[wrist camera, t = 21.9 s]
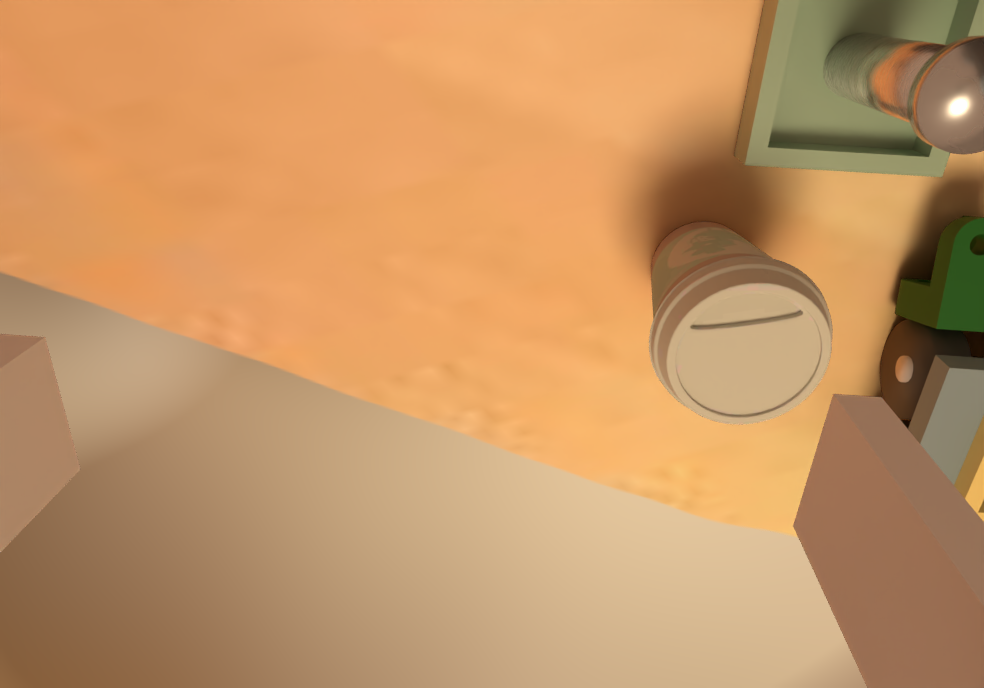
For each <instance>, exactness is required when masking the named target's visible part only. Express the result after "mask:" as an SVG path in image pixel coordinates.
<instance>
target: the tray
mask: <svg viewBox="0 0 984 688" xmlns="http://www.w3.org/2000/svg"><path fill="white" fill-rule="evenodd" d="M856 33H868V34H875V35H882V36H889V37H896V38H903V39H910V40H916V41H923V42H930V43H937V44H944V45H948V44H950V43H952V42H954V41H957V40H959V39H962V38H966V37H970V36H978V35H984V0H764V5H763V10H762V15H761V20H760V25H759V30H758V35H757V41H756V46H755V51H754V56H753V61H752V66H751V71H750V76H749V81H748V86H747V91H746V96H745V101H744V107H743V112H742V117H741V122H740V127H739V132H738V137H737V142H736V147H735V152H734V156H735V157H736V158H737V159H738V160H739V161H741V162H742V163H743V164H744V165H748V166H764V167H781V168H798V169H814V170H831V171H848V172H864V173H881V174H897V175H914V176H931V177H942V176H943V173H944V170H945V167H946V164H947V161H948V158H949V155H950V153H949V152H946V151H943V150H941V149H938V148H936V147H934V146H931V145H929V144H927V143H926V142H924V141H922V140H921V139H920V138H919V137H918V136H917V135H916V133H915V132H914V131H913V129H912V127H911V125H910V123H909V122H907V121H904V120H901V119H899V118H896V117H893V116H891V115H888V114H885V113H883V112H880V111H877V110H875V109H872V108H869V107H867V106H864V105H861V104H859V103H856V102H853V101H851V100H848V99H845V98H843V97H840V96H838V95H835V94H834V93H832V92H831V91H830V90H829V88H828V87H827V85H826V83H825V81H824V76H823V68H824V63H825V60H826V58H827V55H828V54H829V52H830V51H831V49H832V48H833V47H834V46H835V45H836V44H837V43H838V42H839V41H840V40H842V39H843V38H845V37H847V36H849V35H852V34H856Z"/></svg>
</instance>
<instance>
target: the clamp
mask: <svg viewBox="0 0 984 688" xmlns="http://www.w3.org/2000/svg"><path fill="white" fill-rule="evenodd" d="M895 314H896V315H899V316H902V317H904V318H907V319H910V320H913V321H916V322H918V323H921V324H924V325H927V326H930V327H932V328H935V329H946V330H960V331H975V332H984V217H971V216H963V217H962V218H959V219H956V220H954V221H953V222H951V223H950V224H949V225H948V226H947V227H946V228H945V229H944V230H943V232H942V234H941V236H940V239H939V243H938V248H937V253H936V258H935V263H934V268H933V273H932V278H931V280H925V279H910V278H903V279H901V283H900V288H899V293H898V298H897V304H896V309H895Z"/></svg>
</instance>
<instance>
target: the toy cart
mask: <svg viewBox="0 0 984 688" xmlns="http://www.w3.org/2000/svg"><path fill="white" fill-rule="evenodd" d="M880 381H881V389H882V394H883V397H884V400H885V402H886V403H887V404H888V406H889V407H890V408H891V409H892V410H893V412H894V413H895V414H896V415H897V417H898V418H900V419H906V420H901V421H902V423H903V424H904V425H905V426H906V428H907V429H908V430H909V431H910V432H911V434H912V435H913V436H914V437H915V439H916V440H917V441H918V442H919V443H920V445H921V446H922V447H923V448H924V450H925V451H926V452H927V453H928V454H929V456H930V457H931V458H932V459H933V461H934V462H935V463H936V464H937V465H938V467H939V468H940V469H941V470H942V472H943V473H944V474H945V475H946V476H947V478H948V479H949V480H950V481H951V483H952V484H953V485H954V486H955V487H956V489H957V490H958V491H959V492H960V494H961V495H962V496H963V497H964V498H965V500H966V501H967V502H968V503H969V505H970V506H971V507H972V508H973V509H974V511H975V512H976V513H977V514H978V516H979V517H980V518H981V519H982V520H983V522H984V358H975V357H972V356H971V351H970V347H969V344H968V341H967V339H966V337H965V335H964V333H963V332H962V331H960V330H946V329H935V328H932V327H930V326H927V325H924V324H921V323H918V322H916V321H913V320H910V319H907V320H904V321H902V322H900V323H899V324H898V325H897V326H896V327H895V328H894V329H893V330H892V332H891V333H890V335H889V337H888V339H887V341H886V344H885V346H884V350H883V354H882V359H881V367H880ZM908 420H911V421H908Z"/></svg>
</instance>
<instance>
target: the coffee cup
mask: <svg viewBox="0 0 984 688" xmlns="http://www.w3.org/2000/svg"><path fill="white" fill-rule="evenodd" d="M651 284H652V302H653V323H652V326H651V330H650V337H649V352H650V358H651V362H652V365H653V368H654V370H655V373H656V375H657V376H658V378H659V380H660V381H661V383H662V384H663V385H664V387H665V388H666V389H667V391H668V392H669V393H670V394H671V395H672V396H673V397H674V398H675V399H676V400H677V401H679V402H680V403H681V404H683V405H684V406H686V407H688V408H689V409H691V410H692V411H694V412H695V413H697V414H698V415H700V416H702V417H705V418H707V419H710V420H713V421H716V422H721V423H725V424H752V423H758V422H762V421H766V420H770V419H772V418H775V417H778V416H780V415H782V414H784V413H786V412H788V411H790V410H791V409H793V408H794V407H796V406H797V405H799V404H800V403H801V402H803V401H804V400H805V399H806V398H807V397H808V396H809V395H810V394H811V393H812V392H813V391H814V389H815V388H816V387H817V386H818V384H819V383H820V381H821V380H822V378H823V376H824V374H825V372H826V370H827V367H828V364H829V361H830V356H831V349H832V321H831V316H830V313H829V309H828V307H827V304H826V301H825V299H824V297H823V295H822V293H821V292H820V290H819V288H818V287H817V286H816V285H815V283H814V282H813V281H812V280H811V279H810V278H809V277H808V276H807V275H805V274H804V273H803V272H802V271H800V270H799V269H797V268H795V267H793V266H791V265H789V264H787V263H785V262H782V261H779V260H776V259H773V258H771V257H770V256H768V255H767V254H766V253H764V252H763V251H761V250H760V249H758V248H757V247H756V246H754V245H753V244H751V243H750V242H749V241H747V240H746V239H744V238H743V237H742V236H740V235H738V234H737V233H736V232H734V231H733V230H731V229H730V228H728V227H726V226H724V225H722V224H719V223H715V222H707V221H702V222H694V223H690V224H687V225H684V226H681V227H679V228H678V229H676V230H674V231H673V232H671V233H670V234H669V235H668V236H667V237H666V238H665V239H664V240H663V241H662V242H661V243H660V245H659V246H658V248H657V250H656V252H655V254H654V256H653V260H652V264H651Z"/></svg>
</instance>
